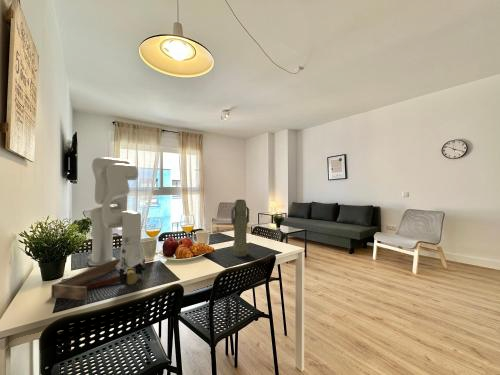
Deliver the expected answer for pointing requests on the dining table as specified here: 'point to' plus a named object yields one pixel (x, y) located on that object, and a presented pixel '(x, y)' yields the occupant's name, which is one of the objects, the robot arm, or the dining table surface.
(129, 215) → the robot arm
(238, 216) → the tall olive-grey vase
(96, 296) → the dining table surface
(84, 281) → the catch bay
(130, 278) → the gavel
